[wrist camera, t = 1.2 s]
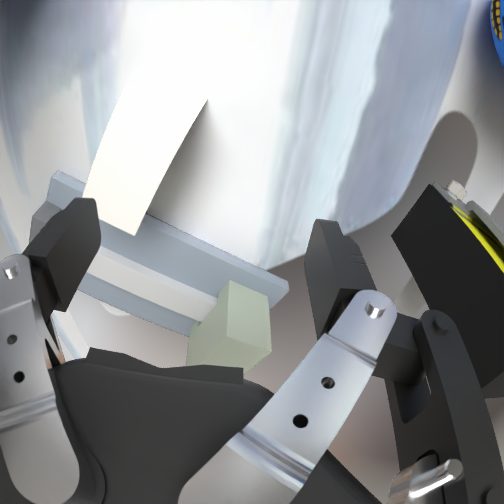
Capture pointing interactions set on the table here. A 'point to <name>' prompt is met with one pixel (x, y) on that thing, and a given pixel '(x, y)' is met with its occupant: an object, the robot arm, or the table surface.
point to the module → (139, 148)
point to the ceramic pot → (498, 26)
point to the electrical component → (460, 273)
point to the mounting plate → (177, 284)
